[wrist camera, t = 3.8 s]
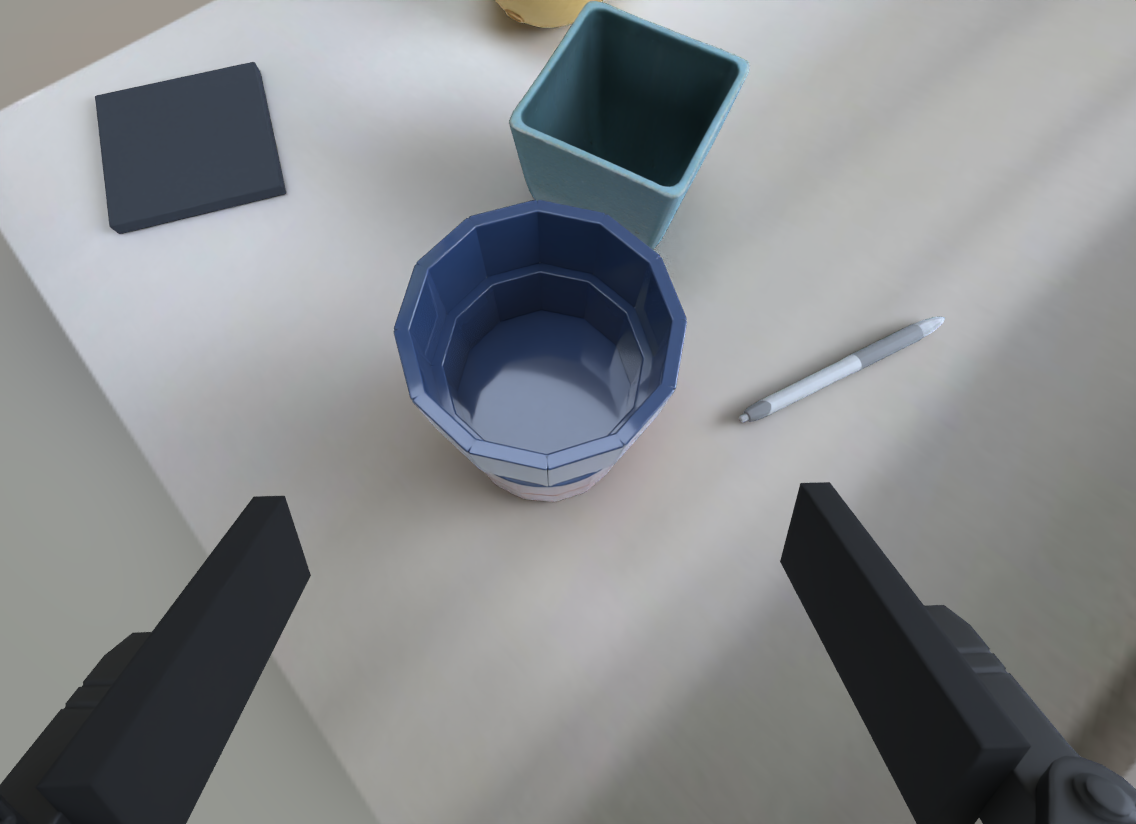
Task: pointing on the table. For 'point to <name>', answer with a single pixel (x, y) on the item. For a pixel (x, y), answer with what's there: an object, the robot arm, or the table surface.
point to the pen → (841, 369)
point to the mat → (187, 147)
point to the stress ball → (543, 11)
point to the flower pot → (624, 118)
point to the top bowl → (541, 341)
